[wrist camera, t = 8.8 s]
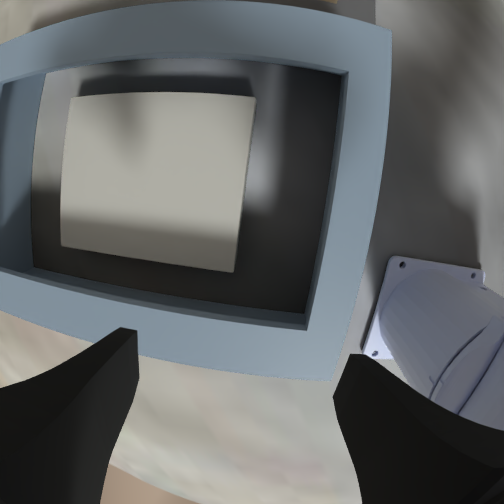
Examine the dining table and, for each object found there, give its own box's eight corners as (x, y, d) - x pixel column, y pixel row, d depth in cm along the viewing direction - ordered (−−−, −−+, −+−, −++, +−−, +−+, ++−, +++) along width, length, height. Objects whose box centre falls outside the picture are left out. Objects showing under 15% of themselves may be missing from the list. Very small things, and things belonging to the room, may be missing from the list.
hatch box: (357, 66, 16) (391, 30, 10) (315, 327, 20) (330, 381, 15) (40, 64, 16) (-8, 48, 10) (27, 276, 20) (-18, 302, 15)
